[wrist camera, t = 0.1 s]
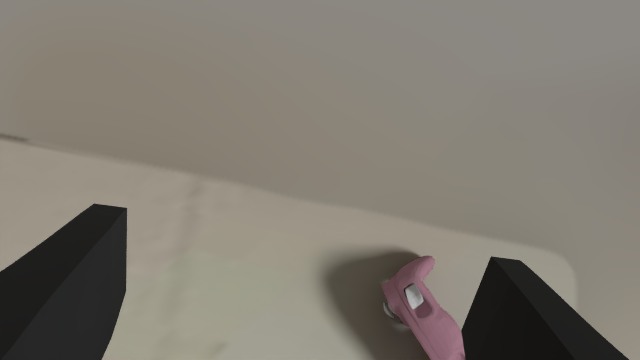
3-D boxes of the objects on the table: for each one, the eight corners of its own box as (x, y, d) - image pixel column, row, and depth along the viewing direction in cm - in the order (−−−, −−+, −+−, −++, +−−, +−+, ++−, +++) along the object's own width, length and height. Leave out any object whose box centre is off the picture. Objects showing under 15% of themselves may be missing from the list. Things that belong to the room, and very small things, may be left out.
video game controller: (379, 280, 46) (364, 292, 39) (428, 248, 45) (421, 255, 38) (453, 392, 44) (451, 425, 37) (505, 360, 43) (513, 388, 37)
